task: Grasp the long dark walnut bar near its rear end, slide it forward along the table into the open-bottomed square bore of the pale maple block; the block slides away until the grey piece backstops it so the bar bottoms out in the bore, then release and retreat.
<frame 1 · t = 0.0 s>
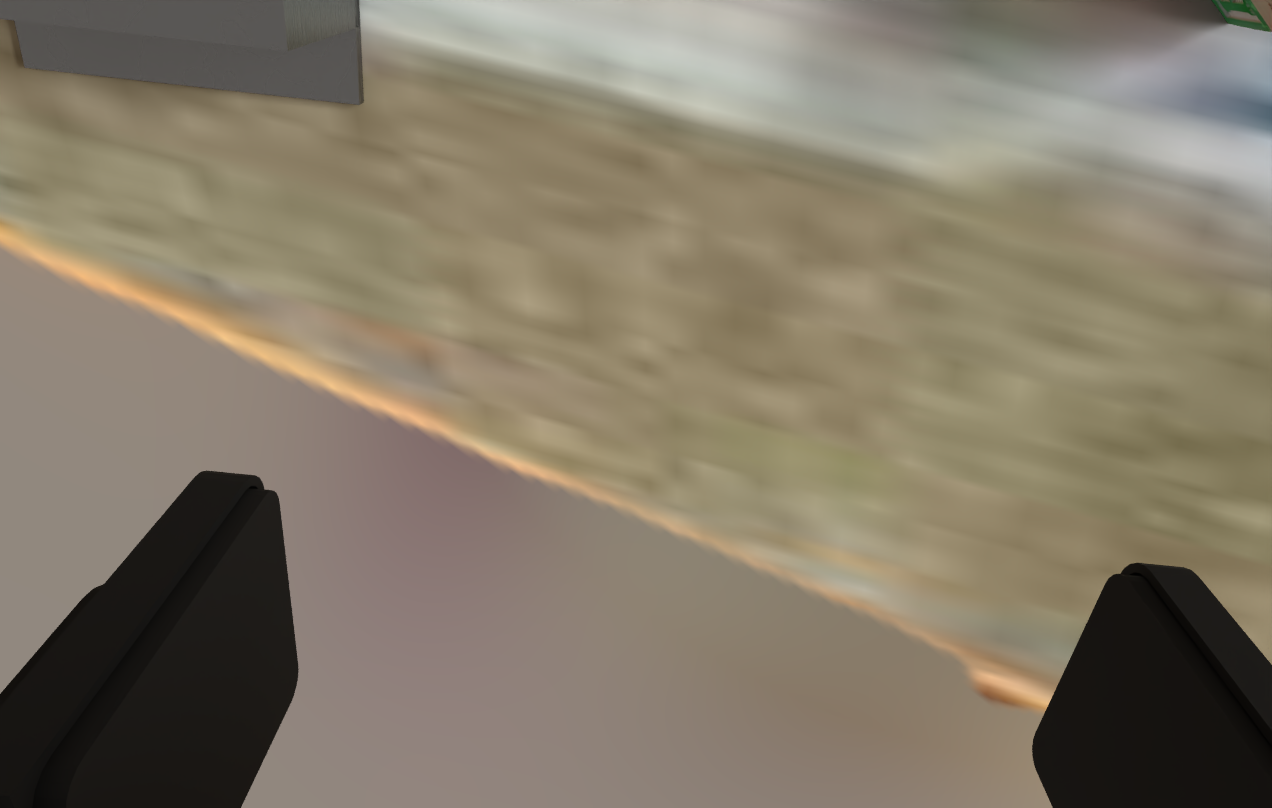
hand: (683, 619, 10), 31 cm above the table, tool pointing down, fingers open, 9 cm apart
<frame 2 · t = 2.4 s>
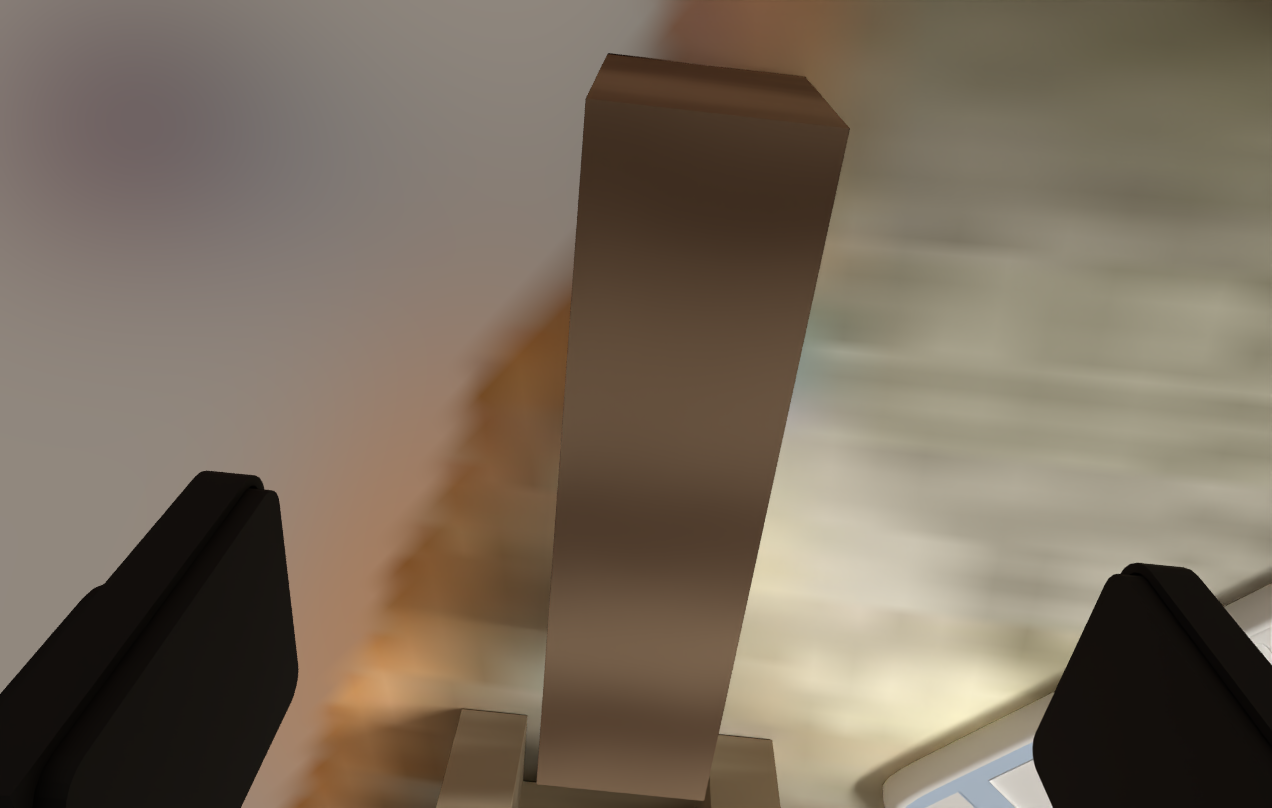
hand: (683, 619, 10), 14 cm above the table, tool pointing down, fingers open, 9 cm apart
walnut bar: (661, 400, 25), on the table
calculator: (1201, 746, 31), on the table
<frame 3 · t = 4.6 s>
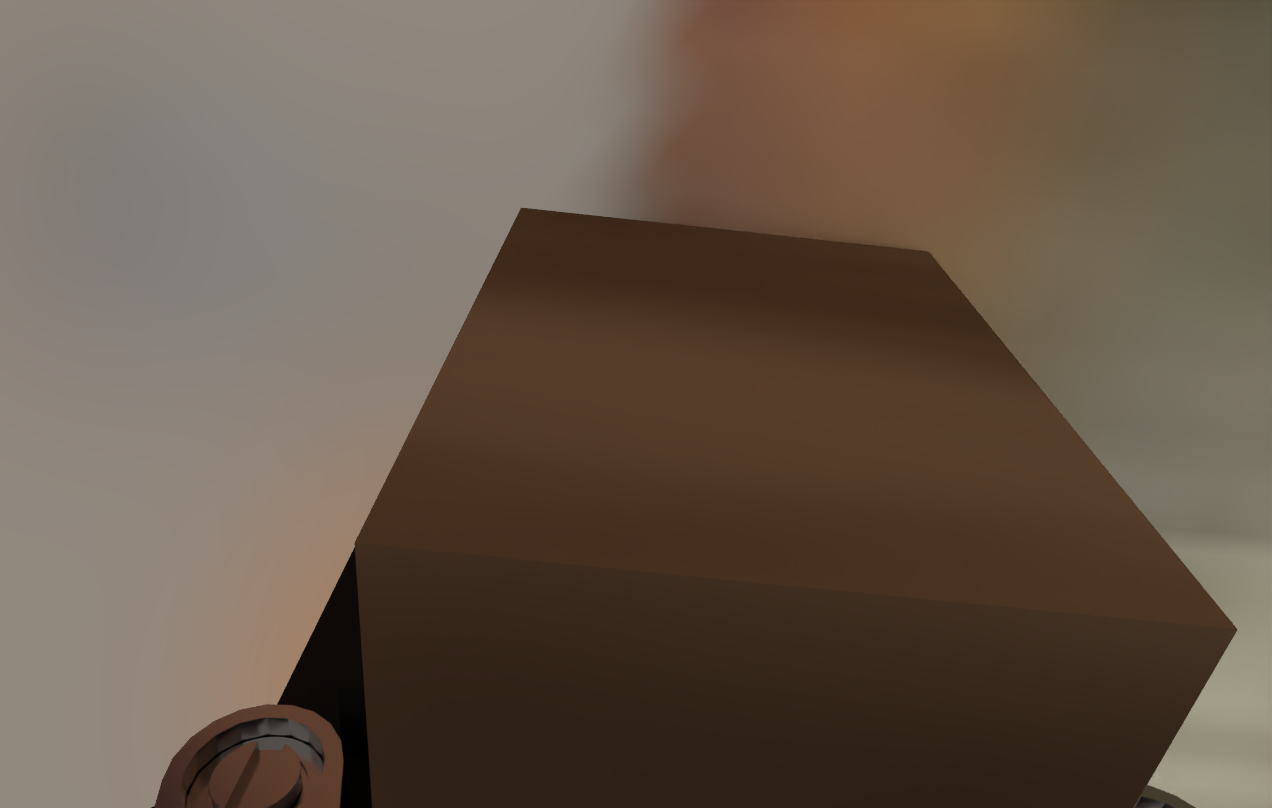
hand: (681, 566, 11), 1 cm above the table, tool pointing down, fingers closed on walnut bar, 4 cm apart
walnut bar: (641, 768, 14), on the table, touching gripper
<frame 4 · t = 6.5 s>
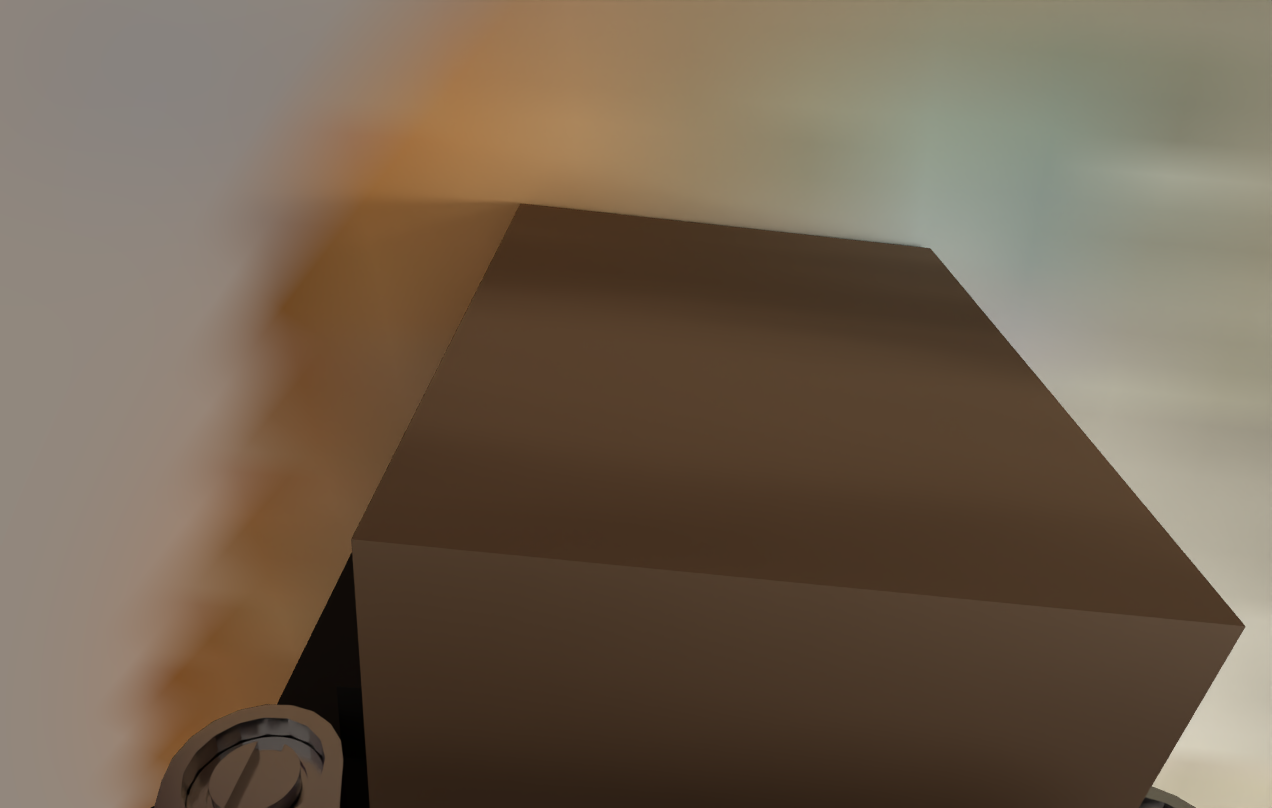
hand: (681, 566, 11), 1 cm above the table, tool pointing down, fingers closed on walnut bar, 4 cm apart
walnut bar: (641, 767, 14), on the table, touching gripper, maple block
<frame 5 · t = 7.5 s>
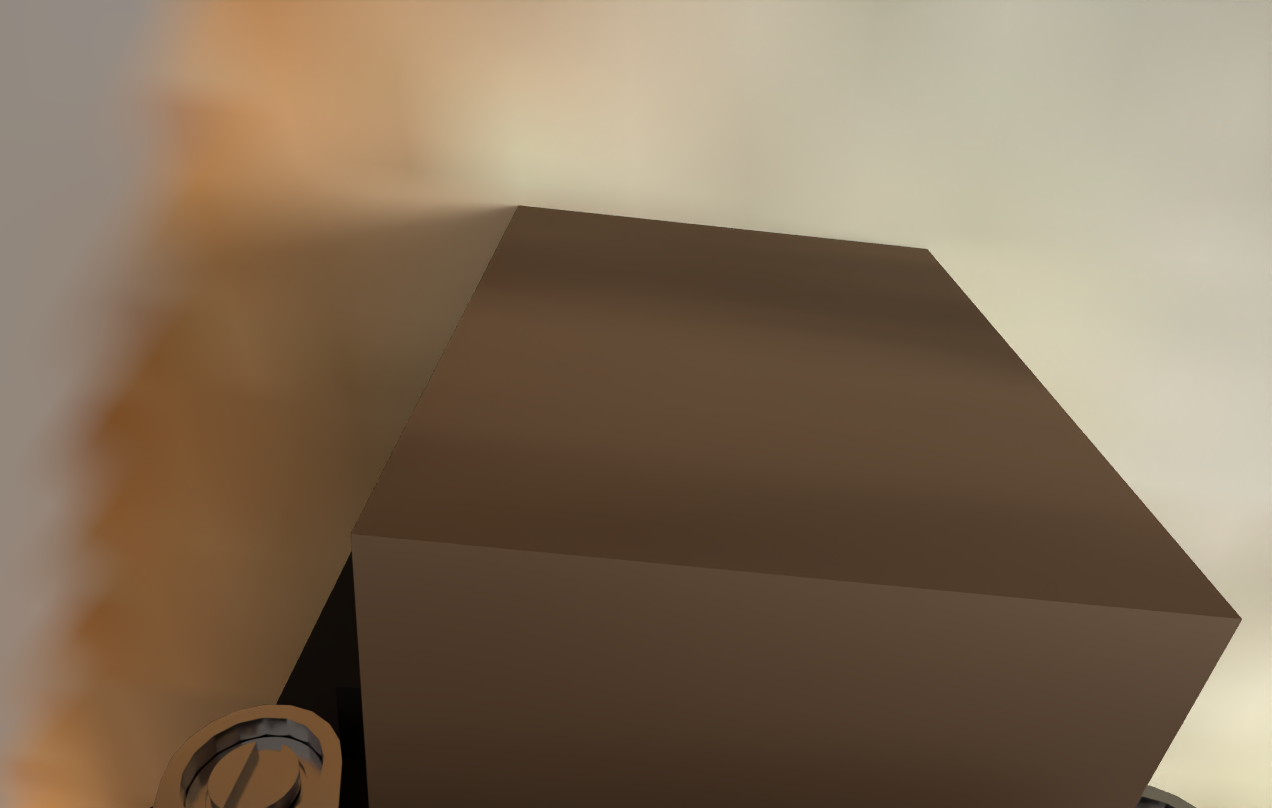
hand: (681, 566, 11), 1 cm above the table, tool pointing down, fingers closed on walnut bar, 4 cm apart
walnut bar: (640, 770, 14), on the table, touching gripper, maple block
when the fingers open (1 cm above the table, at t = 8.8 s): walnut bar stays where it is, on the table.
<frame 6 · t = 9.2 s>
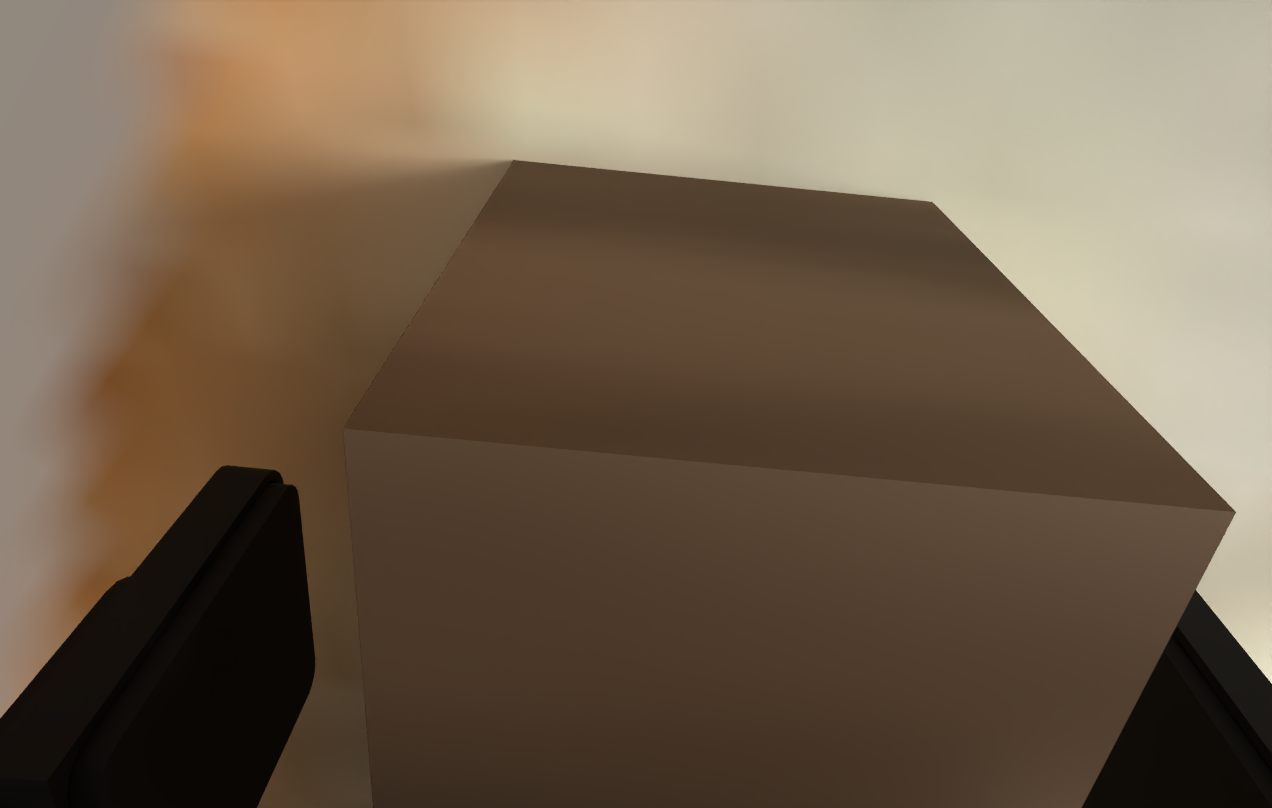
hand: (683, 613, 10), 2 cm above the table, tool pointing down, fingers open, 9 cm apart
walnut bar: (644, 733, 14), on the table
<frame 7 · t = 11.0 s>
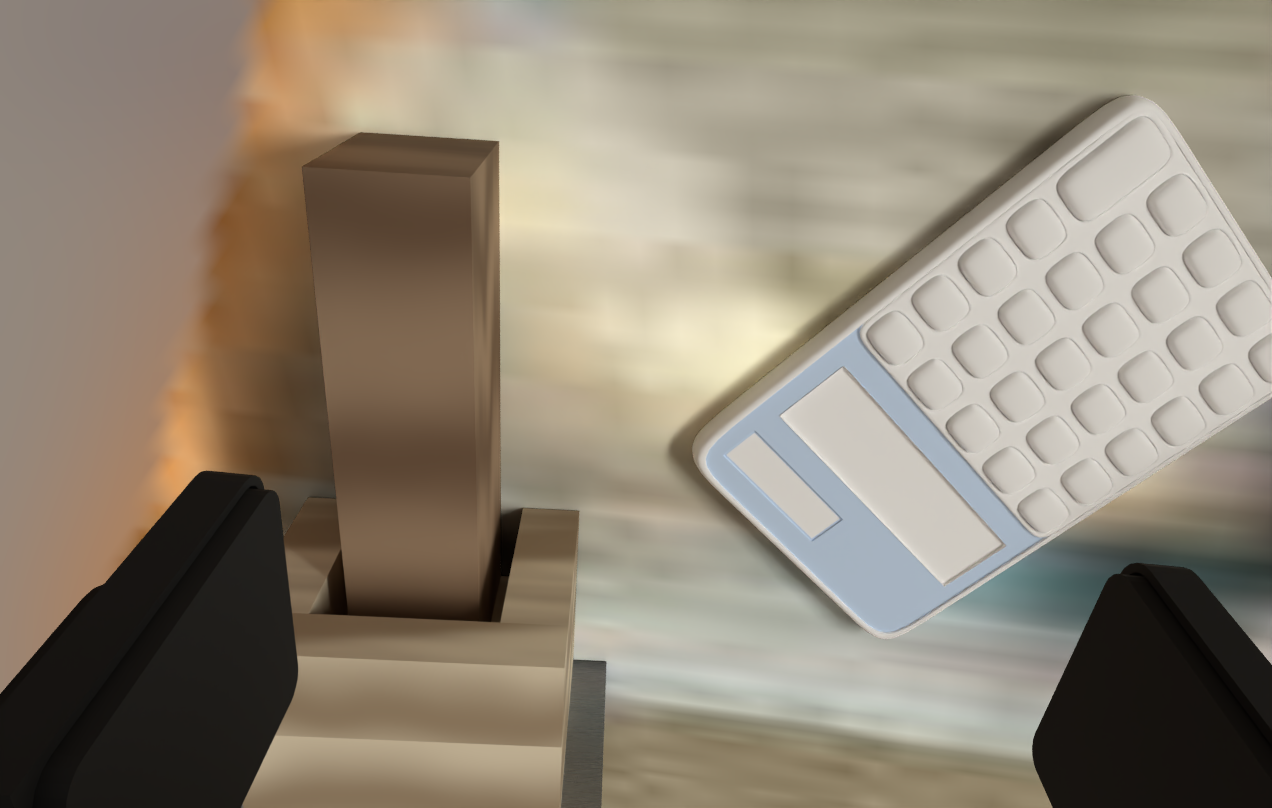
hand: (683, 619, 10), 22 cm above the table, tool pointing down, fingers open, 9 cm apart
walnut bar: (440, 378, 33), on the table
maple block: (425, 656, 33), point 4 cm above the table, slide at 5.0 cm, touching grey piece
calculator: (979, 391, 34), on the table
grey piece: (451, 671, 40), on the table
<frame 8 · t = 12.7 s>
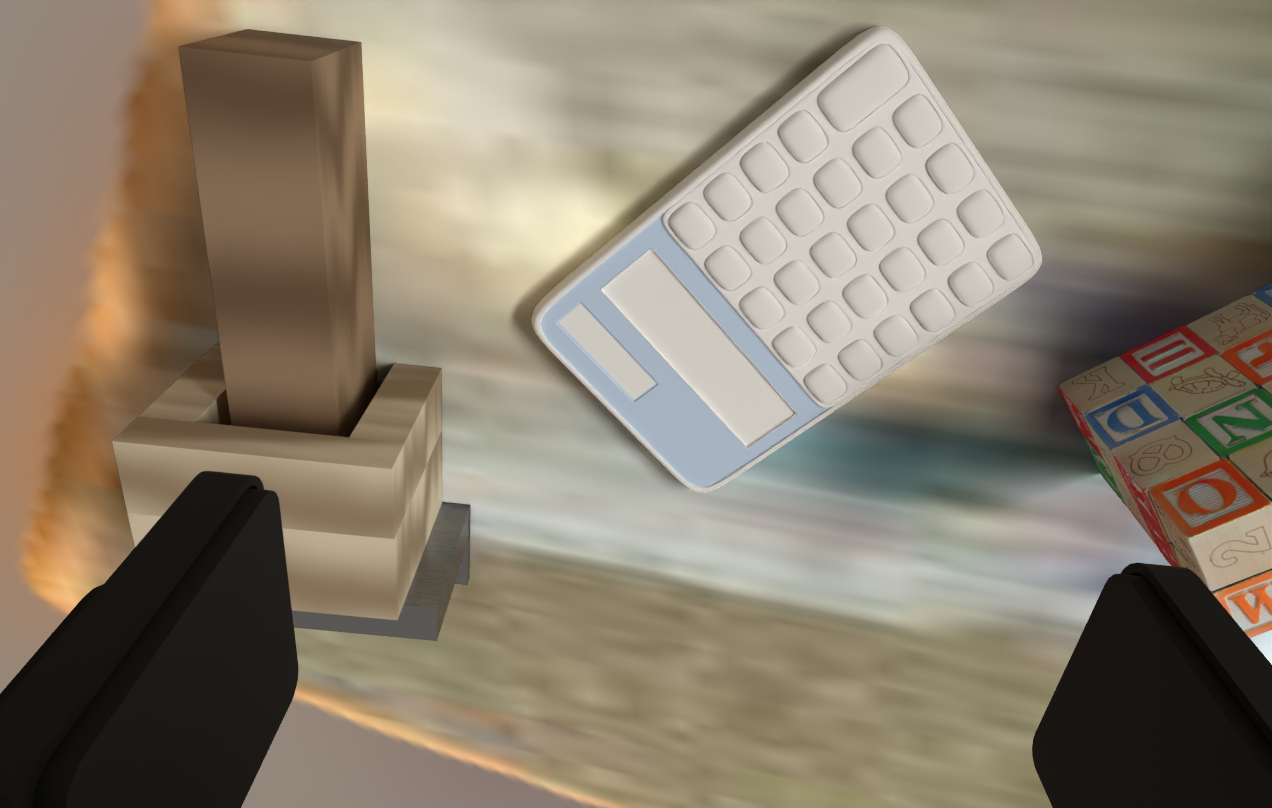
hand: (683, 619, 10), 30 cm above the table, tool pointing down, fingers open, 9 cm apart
walnut bar: (321, 246, 40), on the table
maple block: (301, 476, 40), point 4 cm above the table, slide at 5.0 cm, touching grey piece
calculator: (775, 280, 41), on the table
grey piece: (339, 507, 47), on the table
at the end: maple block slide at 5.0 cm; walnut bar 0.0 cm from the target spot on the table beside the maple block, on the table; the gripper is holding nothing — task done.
